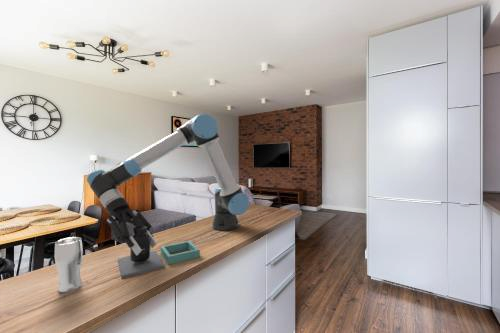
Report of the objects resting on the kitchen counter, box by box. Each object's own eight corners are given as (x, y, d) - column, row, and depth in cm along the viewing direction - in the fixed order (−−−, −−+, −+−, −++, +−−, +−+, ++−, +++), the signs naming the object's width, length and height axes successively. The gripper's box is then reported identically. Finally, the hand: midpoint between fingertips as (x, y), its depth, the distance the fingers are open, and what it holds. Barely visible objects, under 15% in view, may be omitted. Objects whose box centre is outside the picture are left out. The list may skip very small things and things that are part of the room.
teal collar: (189, 247, 107) (189, 240, 107) (199, 256, 97) (199, 249, 97) (160, 253, 100) (160, 246, 100) (168, 264, 90) (168, 256, 90)
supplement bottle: (137, 264, 85) (137, 231, 85) (126, 260, 89) (126, 228, 89) (154, 257, 91) (153, 226, 91) (143, 253, 95) (142, 224, 94)
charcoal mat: (155, 253, 101) (155, 250, 101) (164, 267, 87) (164, 265, 87) (117, 261, 93) (117, 258, 93) (121, 278, 80) (121, 275, 80)
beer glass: (53, 296, 70) (51, 246, 69) (59, 284, 76) (57, 238, 76) (82, 289, 73) (80, 242, 73) (85, 279, 79) (83, 235, 79)
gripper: (130, 204, 104) (160, 245, 99) (85, 214, 86) (119, 266, 81) (139, 193, 102) (170, 234, 97) (94, 201, 84) (130, 253, 78)
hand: (147, 249), depth 89 cm, fingers closed on supplement bottle, 7 cm apart
